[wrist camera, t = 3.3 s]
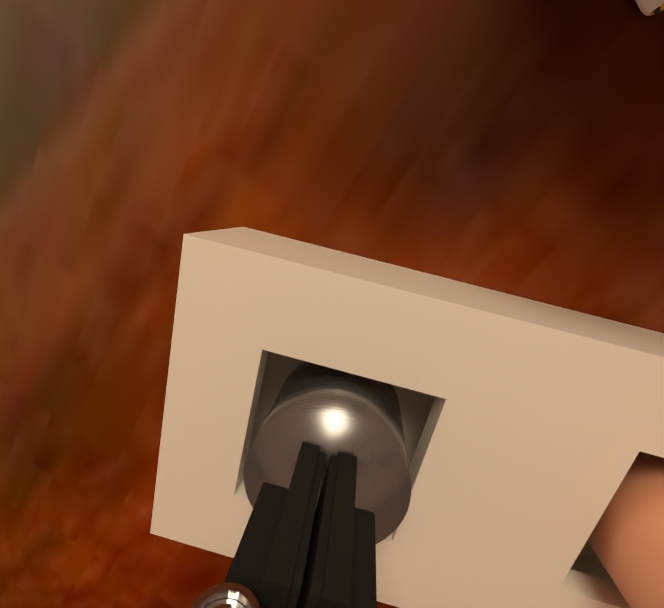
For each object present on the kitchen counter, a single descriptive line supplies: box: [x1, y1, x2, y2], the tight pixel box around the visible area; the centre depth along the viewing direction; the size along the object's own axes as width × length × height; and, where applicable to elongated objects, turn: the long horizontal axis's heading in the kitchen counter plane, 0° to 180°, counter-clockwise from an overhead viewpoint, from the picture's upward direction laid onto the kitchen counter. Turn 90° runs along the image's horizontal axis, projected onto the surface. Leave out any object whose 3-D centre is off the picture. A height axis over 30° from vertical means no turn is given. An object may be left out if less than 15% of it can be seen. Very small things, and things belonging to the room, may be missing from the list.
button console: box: [150, 227, 664, 608], centre depth 14 cm, size 24×12×5 cm, turn 76°
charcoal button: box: [243, 361, 411, 544], centre depth 12 cm, size 5×5×4 cm
